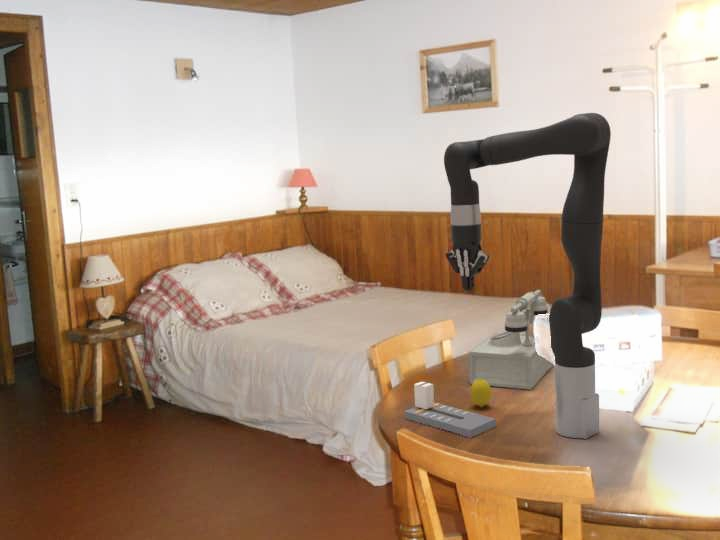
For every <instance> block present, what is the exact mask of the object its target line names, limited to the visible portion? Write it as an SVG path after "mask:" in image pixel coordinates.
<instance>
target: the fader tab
mask: <svg viewBox="0 0 720 540" xmlns="http://www.w3.org/2000/svg"><path fill="white" fill-rule="evenodd" d="M413 386H414V389H413V390H414V407H420V408H423V409H429V408H431V407H434V402H435V395H434V393H435V391H434V384H433V383H430V382H429V381H420V382H417V383H414V384H413Z"/></svg>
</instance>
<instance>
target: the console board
mask: <svg viewBox="0 0 720 540" xmlns="http://www.w3.org/2000/svg"><path fill="white" fill-rule="evenodd" d="M404 419H405V420H408V421H411V420H412V421H413V422H415V423H418V424H421V423H422V425H425V424H426V425H425V426H428V425H430V426H429V427H432V426H433V427H432V428H435V427H436V429H438V428H440V429H439V430H442V429H444V430H443V431H445V430H447V431H446V432H448V431H452V432H454V433H453V434H455V433H457V434H456V435H458V434H460V435H459V436H462V435H463V436H462V437H465V436H466V438H468V437H469V439H471V438H473V436H474V437H475V436H478V435H480V434H483V433H485V432H487V431H490V430H492V429H493V428H496V427H497V419H496V418H494V417H491V416H486V415H483V414H478V413H475V412H471V411H468V410H465V409H460V408H457V407H453V406H450V405H446V404H442V403H439V402H435V401H434V407H431V408H429V409H423V408H420V407H416V406H414V407H412V408H409V409H406V410H404ZM412 421H411V422H412ZM452 432H451V433H452ZM482 432H483V433H482Z"/></svg>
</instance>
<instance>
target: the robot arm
mask: <svg viewBox="0 0 720 540" xmlns="http://www.w3.org/2000/svg"><path fill="white" fill-rule="evenodd" d="M611 133H612V132H611V127H610V123H609V121H608V120H607V118H605V117H604V116H603V115H602V114H599V113H597V112H586V113H579V114H575V115H572V116H571V117H569V118H566V119H563V120H561V121H558V122H555V123H552V124H550V125H547V126H543V127H540V128H534V129H530V130H521V131H520V130H519V131H518V130H517V131H513V132H507V133H501V134H495V135H491V136H487V137H486V138H483V139H477V140H476V139H475V140H469V141H456V142H453V143H450V144H449V145H448V146H447V147H446V149H445V151H444V155H443V164H444V170H445V174H446V178H447V181H448V185H449V187H450V217H449V218H450V235H451V236H450V237H451V242H453V243H452V246H451V250H450V251H449V252H446V253H445V258H446V260H447V261H448V263H449V264H450V266H451V267H452V269H453V271H454V273H455V274H460V276H461V287H462V289H463V291H467V292H470V291H471V292H472V291H473V290H474V289H475V276H476V275H478V274H480V273H482V270H483V269H484V267H485V266H486V264H487V262H488V261H489V259H490V254H485V253H484V252H483V249H482V246H481V240H482V217H481V215H482V214H481V213H482V212H481V208H480V207H481V206H480V189H479V184H478V182H477V181H476V180H473V179H472V174H471V170H475V169H480V168H484V167H487V166H497V165H498V166H499V165H506V164H512V163H515V162H520V161H524V160H529V159H532V158H537V157H543V156H554V155H556V156H557V155H558V156H559V155H560V156H561V155H564V156H565V155H566V156H567V155H569V156H570V155H571V156H574V157H573V158H574V161H573V165H574V166H573V175H572V179H571V182H570V186H569V189H568V192H567V194H566V198H565V202H564V203H563V208H562V211H561V212H562V213H561V225H560V226H561V227H560V230H561V232H560V239H561V240H560V241H561V245H562V247H563V250H564V252H565V254H566V255H565V256H566V257H567V259H568V261H569V263H570V266H571V269H572V273H573V287H572V289H573V290H572V295H569V296H566V297H562V298H557V299H556V300H555V301H553V303H552V305H551V307H550V310H549V314H550V315H549V321H548V324H549V332H550V333H549V334H550V336H551V348H552V354H553V356H555V360H554V378H555V379H554V381H555V384H554V385H555V391H554V392H555V428H556V429H555V431H556V434H559V435H560V436H562V437H567V438H571V439H572V438H573V439H585V440H586V439H587V440H588V439H589V438H590V437H593V436H594V435H597V434H598V433H600V395H599V393H596V353H595V351H594V350H593V348H590V347H585V346H584V345H583V334H587V333H590V332H592V331H594V330H595V329H597V328H598V327H599V325H600V323H601V319H602V316H603V315H602V313H603V312H602V310H603V309H602V307H603V306H602V305H603V304H602V288H601V285H602V284H601V265H602V262H601V261H602V242H603V229H604V207H605V206H604V204H605V203H604V202H605V176H606V167H607V163H608V162H607V161H608V156H609V151H610V144H611V136H612V135H611Z"/></svg>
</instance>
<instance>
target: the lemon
mask: <svg viewBox="0 0 720 540" xmlns="http://www.w3.org/2000/svg"><path fill="white" fill-rule="evenodd" d="M469 394H470V399H471V401H472V402H473V403H474V404H475V405H477V406H478V407H480V408H483V407H484V406H487V404H488V403H489V402H490V401H491V399H492V389H491V386H490V385H489V383H488V382H487V381H485V380H483V379H482V378H479V379H478V380H476V381H475V382H474V383H473V384H471V387H470V393H469Z"/></svg>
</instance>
